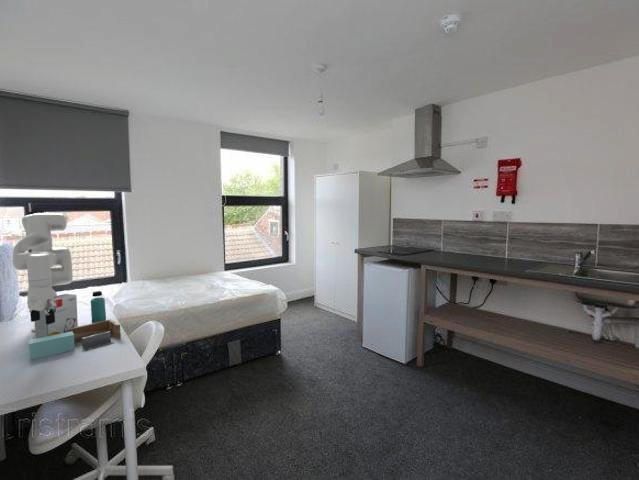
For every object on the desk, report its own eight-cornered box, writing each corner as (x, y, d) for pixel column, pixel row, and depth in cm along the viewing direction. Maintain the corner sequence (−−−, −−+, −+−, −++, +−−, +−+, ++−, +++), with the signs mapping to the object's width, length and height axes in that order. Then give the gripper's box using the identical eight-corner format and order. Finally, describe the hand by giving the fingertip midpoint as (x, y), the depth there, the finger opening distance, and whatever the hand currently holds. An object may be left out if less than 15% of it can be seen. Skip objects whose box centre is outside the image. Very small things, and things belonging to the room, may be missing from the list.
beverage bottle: (109, 327, 172) (107, 290, 171) (97, 331, 166) (95, 293, 164) (100, 325, 174) (99, 289, 173) (88, 330, 168) (86, 292, 166)
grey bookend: (82, 347, 147) (82, 337, 146) (109, 340, 155) (109, 331, 155) (86, 350, 143) (85, 341, 143) (114, 343, 152) (113, 333, 151)
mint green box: (29, 355, 139) (28, 340, 138) (73, 345, 149) (72, 331, 148) (30, 360, 135) (28, 343, 134) (74, 349, 145) (73, 334, 144)
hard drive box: (48, 344, 150) (45, 302, 148) (34, 342, 152) (31, 301, 150) (79, 332, 165) (76, 294, 164) (66, 331, 167) (64, 293, 165)
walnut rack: (67, 343, 151) (67, 329, 150) (111, 332, 165) (110, 319, 164) (75, 350, 143) (75, 335, 143) (120, 338, 157) (120, 324, 156)
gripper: (16, 283, 136) (19, 322, 138) (43, 286, 130) (46, 327, 132) (37, 279, 143) (39, 317, 145) (63, 282, 138) (66, 321, 139)
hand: (43, 322), depth 138 cm, fingers open, 9 cm apart
